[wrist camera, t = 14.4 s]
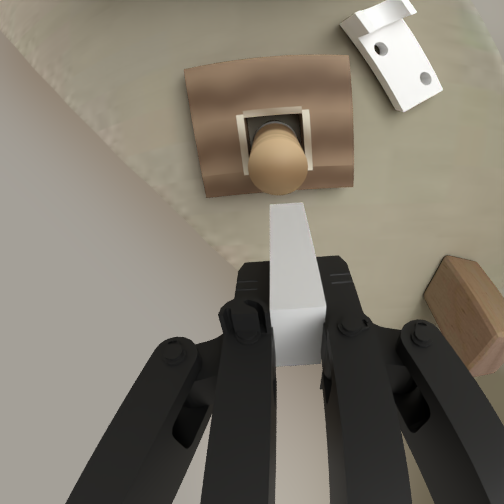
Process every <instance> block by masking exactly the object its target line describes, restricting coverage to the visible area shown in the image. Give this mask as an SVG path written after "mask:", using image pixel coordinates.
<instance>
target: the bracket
mask: <svg viewBox="0 0 504 504" xmlns="http://www.w3.org/2000/svg"><path fill="white" fill-rule="evenodd" d="M415 13H417V12H416V10H415V9H414V7H413V6H412V4H411V3H410V1H409V0H386V1H384V2H382V3H380V4H377V5H375V6H373V7H370V8H368V9H366V10H363V11H362V10H360V11H358V12H356V13H354V14H352V15H351V16H350V17H348V18H347V19H346V20H344V21H343V22H341V23H340V24H339V25H340V26H341V27H342V28H343V30H344V31H345V32H346V34H347V35H348V36H349V38H350V39H351V40H352V42H353V43H354V44H355V46H356V47H357V49H358V50H359V51H360V53H361V54H362V56H363V57H364V59H365V60H366V62H367V63H368V65H369V66H370V68H371V69H372V71H373V72H374V74H375V76H376V77H377V79H378V80H379V82H380V84H381V85H382V87H383V89H384V90H385V92H386V94H387V96H388V97H389V99H390V101H391V103H392V104H393V106H394V108H395V110H398V111H401V112H405V111H407V110H409V109H410V108H412V107H414V106H416V105H417V104H419V103H421V102H423V101H425V100H426V99H428V98H430V97H432V96H433V95H435V94H437V93H439V92H441V91H442V90H443V88H442V86H441V84H440V82H439V80H438V78H437V76H436V74H435V72H434V70H433V68H432V66H431V64H430V63H429V61H428V59H427V57H426V55H425V54H424V52H423V50H422V48H421V47H420V45H419V43H418V42H417V40H416V38H415V37H414V35H413V34H412V32H411V30H410V29H409V27H408V26H407V24H406V23H405V21H404V20H403V18H404V17H407V16H409V15H412V14H415ZM374 45H376V46H378V47H379V49H380V54H379V55H378V54H377V53H376V52H375V50H374Z"/></svg>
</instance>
